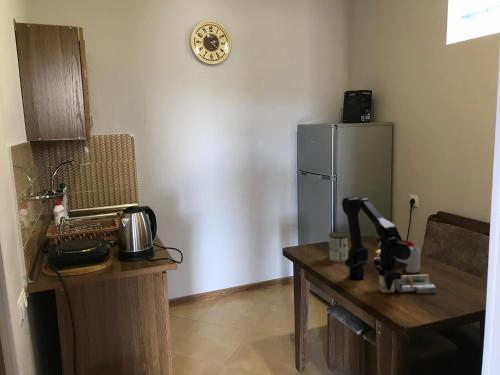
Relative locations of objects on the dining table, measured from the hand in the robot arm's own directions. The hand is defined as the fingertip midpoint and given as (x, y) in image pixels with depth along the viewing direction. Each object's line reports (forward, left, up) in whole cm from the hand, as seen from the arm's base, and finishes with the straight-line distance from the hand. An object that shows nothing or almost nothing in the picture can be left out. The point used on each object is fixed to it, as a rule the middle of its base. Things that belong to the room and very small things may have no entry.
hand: (386, 287), depth 180 cm
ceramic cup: (+21, +40, -2) cm, 45 cm away
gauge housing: (+15, +1, -2) cm, 15 cm away
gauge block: (0, 0, -1) cm, 1 cm away
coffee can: (-11, +46, -2) cm, 47 cm away
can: (+21, +24, -2) cm, 32 cm away
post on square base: (+13, 0, -2) cm, 13 cm away
